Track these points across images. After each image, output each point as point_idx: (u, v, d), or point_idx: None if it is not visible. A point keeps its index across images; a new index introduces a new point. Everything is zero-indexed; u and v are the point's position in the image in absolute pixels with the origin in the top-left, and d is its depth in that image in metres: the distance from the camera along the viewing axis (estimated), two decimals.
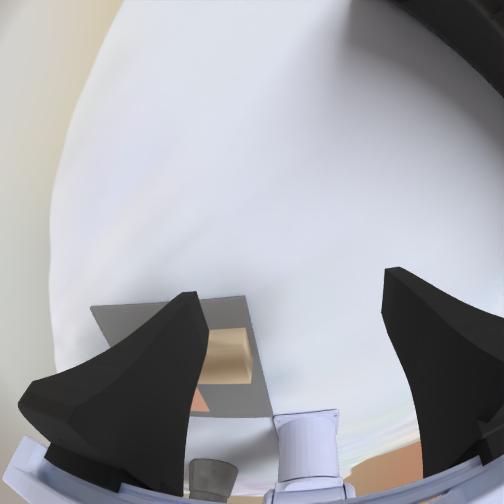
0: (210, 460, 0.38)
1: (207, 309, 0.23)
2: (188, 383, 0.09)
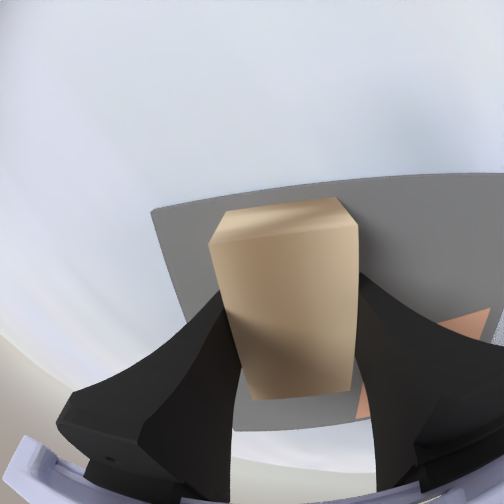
0: None
1: (189, 282, 0.12)
2: (232, 383, 0.08)
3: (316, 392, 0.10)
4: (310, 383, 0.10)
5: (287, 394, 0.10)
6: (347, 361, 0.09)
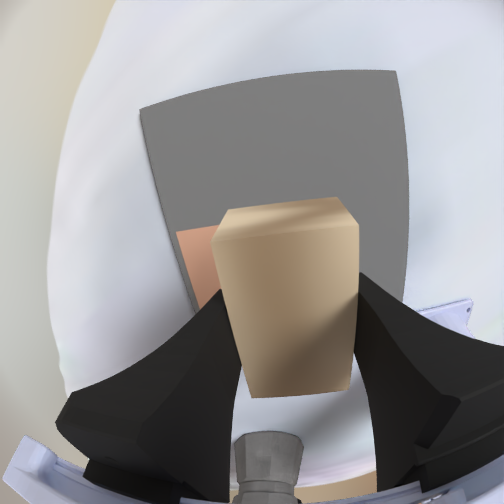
0: (270, 432, 0.29)
1: (349, 81, 0.13)
2: (231, 383, 0.08)
3: (315, 391, 0.10)
4: (309, 382, 0.10)
5: (286, 392, 0.10)
6: (346, 360, 0.09)
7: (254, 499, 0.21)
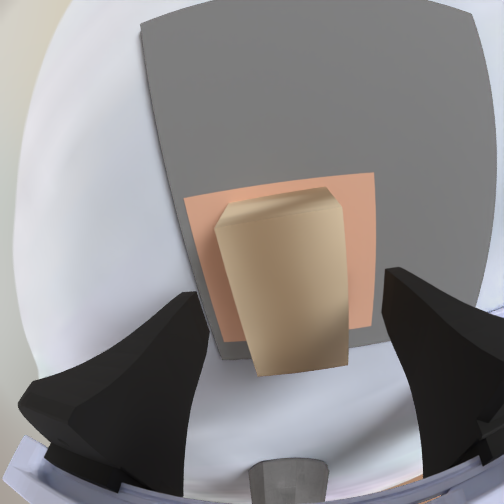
0: (293, 459, 0.22)
1: (426, 12, 0.07)
2: (188, 383, 0.09)
3: (316, 366, 0.11)
4: (310, 357, 0.11)
5: (290, 369, 0.11)
6: (342, 334, 0.10)
7: None
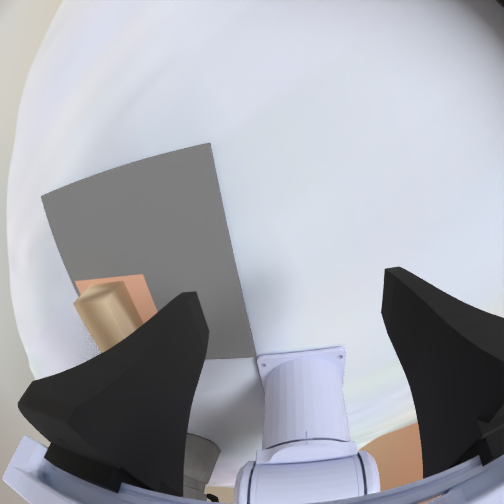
0: None
1: (164, 165, 0.17)
2: (188, 383, 0.09)
3: None
4: None
5: None
6: None
7: None
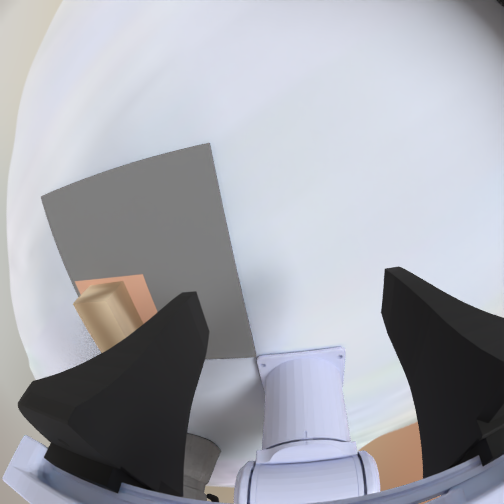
0: None
1: (163, 165, 0.17)
2: (188, 383, 0.09)
3: None
4: None
5: None
6: None
7: None
